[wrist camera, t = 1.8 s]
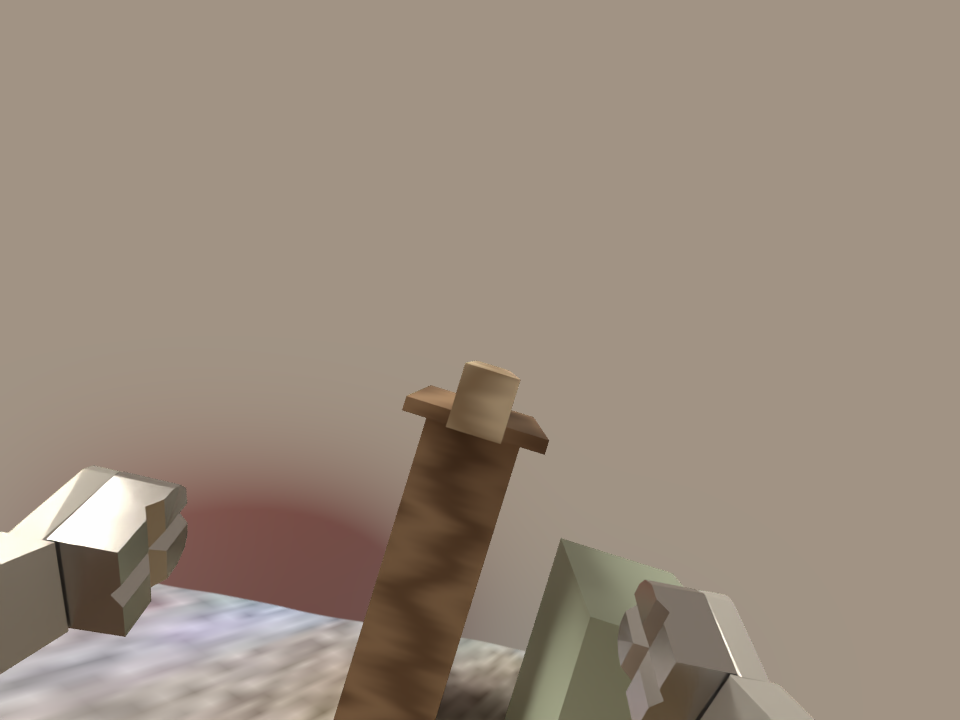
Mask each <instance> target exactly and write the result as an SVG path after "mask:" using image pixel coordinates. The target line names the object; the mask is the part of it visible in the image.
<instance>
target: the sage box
mask: <svg viewBox="0 0 960 720" xmlns="http://www.w3.org/2000/svg"><path fill="white" fill-rule="evenodd" d="M644 580H650V581H655V582H661V583H666V584H671V585H676V586H681V587H683V586H682V584H681V583H680V582H679V581H678V580H677V578H676V577H675V576H674V575H673V574H672V573H669V572H666V571H663V570H660V569H657V568H654V567H650V566H647V565H644V564H641V563H638V562H634V561H631V560H628V559H625V558H622V557H619V556H615V555H612V554H609V553H606V552H603V551H600V550H596V549H593V548H590V547H587V546H584V545H580V544H577V543H574V542H571V541H568V540H564V539H561V540H560V543H559V546H558V550H557V553H556V556H555V559H554V562H553V566H552V569H551V572H550V575H549V578H548V582H547V585H546V588H545V591H544V595H543V598H542V601H541V604H540V608H539V611H538V614H537V617H536V620H535V623H534V627H533V630H532V633H531V636H530V639H529V643H528V646H527V649H526V652H525V655H524V659H523V662H522V665H521V668H520V671H519V675H518V678H517V681H516V684H515V688H514V691H513V694H512V697H511V700H510V704H509V707H508V710H507V713H506V716H505V720H632V719H631V714H630V709H629V705H628V700H627V695H626V691H627V689H628V687H629V685H630V683H631V681H632V680H631V679H630V678H629V677H628V675H627V674H626V673H625V672H624V670H623V669H622V668H621V666H620V661H619V655H618V641H617V639H618V633H619V626H620V623H621V620H622V618H623V616H624V614H625V611H626V610H628V609H630V608H632V607H634V606H635V605H637V603H636V599H635V595H634V593H635V591H636V589H637V588H638V586H639V584H640V583H641V582H642V581H644Z"/></svg>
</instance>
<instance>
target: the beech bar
mask: <svg viewBox="0 0 960 720" xmlns="http://www.w3.org/2000/svg"><path fill="white" fill-rule="evenodd" d="M519 384H520V379H519V378H518V377H516V376H515V375H514V374H513V373H511V372H510V371H509V370H505V369H502V368H499V367H496V366H493V365H489V364H486V363H483V362H480V361H472V362H467V363H466V364H465V366H464V369H463V373H462V376H461V379H460V383H459V386H458V389H457V392H456V395H455V399H454V402H453V405H452V408H451V412H450V415H449V418H448V421H447V424H446V427H448V428H451V429H454V430H457V431H460V432H464V433H467V434H470V435H473V436H476V437H480V438H483V439H486V440H489V441H492V442H496V443H499V444H501V442H502V438H503V435H504V432H505V429H506V426H507V422H508V419H509V416H510V413H511V409H512V406H513V403H514V399H515V396H516V393H517V390H518V387H519Z"/></svg>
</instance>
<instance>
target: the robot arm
mask: <svg viewBox="0 0 960 720" xmlns="http://www.w3.org/2000/svg"><path fill="white" fill-rule="evenodd" d="M186 504H187V494H186V488H185V487H183V486H182V485H179V484H175V483H170V482H166V481H161V480H157V479H153V478H149V477H144V476H140V475H136V474H131V473H127V472H120V471H115V470H111V469H107V468H102V467H98V466H91V467H88V468H85V469H83V470H81V471H80V472H79V473H78V474H77V475H75V476H74V477H73V478H72V479H71V480H69V481H68V482H67V483H66V484H65V485H64V486H62V487H61V488H60V489H59V490H58V491H57V492H55V493H54V494H53V495H52V496H51V497H50V498H48V499H47V500H46V501H45V502H44V503H43V504H41V505H40V506H39V507H38V508H37V509H35V510H34V511H33V512H32V513H31V514H30V515H28V516H27V517H26V518H25V519H24V520H23V521H21V522H20V523H19V524H18V525H17V526H16V527H14V528H13V529H12V530H11V531H10V532H9V533H6V532H0V674H1V673H3V672H5V671H6V670H8V669H9V668H11V667H12V666H14V665H16V664H17V663H19V662H20V661H22V660H24V659H25V658H27V657H28V656H30V655H32V654H33V653H35V652H36V651H38V650H39V649H41V648H43V647H44V646H46V645H47V644H49V643H51V642H52V641H54V640H55V639H57V638H59V637H60V636H62V635H63V634H65V633H67V632H68V628H72V629H79V630H85V631H91V632H98V633H104V634H111V635H117V636H123V637H126V635H127V634H128V632H129V631H130V630H131V628H132V627H133V625H134V624H135V623H136V621H137V620H138V619H139V617H140V616H141V614H142V613H143V612H144V610H145V609H146V608H147V606H148V605H149V603H150V602H151V587H152V586H154V585H156V584H158V583H160V582H162V581H164V580H165V579H167V578H168V577H169V575H170V574H171V572H172V571H173V569H174V568H175V566H176V565H177V563H178V561H179V559H180V556H181V554H182V552H183V550H184V547H185V543H186V538H187V522H186V521H185V519H184V518H183V517H182V515H181V514H180V512H181V510H182V509H183V508H184V507H185V505H186ZM634 595H635V599H636V603H637V605H635V606H634V607H632V608H630V609H628V610H626V611H625V614H624V616H623V618H622V620H621V623H620V626H619V633H618V639H617V641H618V655H619V661H620V666H621V668H622V669H623V670H624V672H625V673H626V674H627V675H628V677H629V678H630V679H631V680H632V681H631V683H630V685H629V687H628V689H627V691H626V695H627V700H628V705H629V709H630V714H631V719H632V720H815V719H814V718H813V717H811V715H810V714H809V713H808V712H807V711H806V710H805V709H803V708H802V706H801V705H799V703H797V702H796V700H795V699H793V698H792V697H791V696H790V695H789V694H788V693H787V692H786V691H785V690H784V689H783V688H782V687H781V686H780V685H779V684H776V683H771V682H770V681H769V678H768V676H767V674H766V672H765V670H764V668H763V666H762V664H761V661H760V659H759V657H758V655H757V653H756V651H755V648H754V646H753V644H752V642H751V640H750V638H749V635H748V633H747V631H746V629H745V627H744V625H743V623H742V621H741V618H740V616H739V614H738V612H737V610H736V608H735V605H734V603H733V601H732V600H731V599H730V598H729V597H728V596H727V595H723V594H718V593H713V592H707V591H702V590H695V589H691V588H686V587H681V586H676V585H671V584H666V583H661V582H655V581H650V580H644V581H642V582H641V583H640V584H639V586H638V588H637V589H636V591H635V593H634Z"/></svg>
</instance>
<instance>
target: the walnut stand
mask: <svg viewBox="0 0 960 720" xmlns="http://www.w3.org/2000/svg"><path fill="white" fill-rule="evenodd" d="M455 395H456V393H454V392H450V391H447V390H444V389H441V388H438V387H435V386H428V387H426V388H424V389H421V390H419V391H417V392H415V393H412V394H410V395H408V396H407V397H406V400H405V403H404V406H403V409H402V410H403V411H406V412H410V413H413V414H416V415H419V416H422V417H425V418H426V421H425V424H424V428H423V431H422V434H421V438H420V441H419V444H418V447H417V450H416V454H415V457H414V460H413V464H412V467H411V470H410V473H409V476H408V480H407V483H406V486H405V489H404V493H403V496H402V499H401V503H400V506H399V509H398V512H397V515H396V519H395V522H394V525H393V528H392V532H391V535H390V538H389V542H388V545H387V548H386V551H385V555H384V558H383V561H382V564H381V567H380V571H379V574H378V577H377V580H376V584H375V587H374V590H373V593H372V597H371V600H370V603H369V606H368V610H367V613H366V616H365V620H364V623H363V626H362V629H361V632H360V636H359V639H358V642H357V645H356V649H355V652H354V655H353V658H352V662H351V665H350V668H349V671H348V675H347V678H346V681H345V684H344V688H343V691H342V694H341V697H340V701H339V704H338V707H337V710H336V714H335V717H334V720H435V719H436V715H437V712H438V709H439V706H440V703H441V699H442V696H443V693H444V690H445V686H446V683H447V680H448V677H449V673H450V670H451V667H452V664H453V661H454V657H455V654H456V651H457V648H458V644H459V641H460V638H461V635H462V631H463V628H464V625H465V622H466V618H467V615H468V612H469V609H470V606H471V603H472V599H473V596H474V592H475V589H476V586H477V583H478V580H479V577H480V573H481V570H482V567H483V564H484V560H485V557H486V554H487V551H488V547H489V544H490V541H491V538H492V535H493V531H494V528H495V525H496V522H497V518H498V515H499V512H500V509H501V506H502V503H503V499H504V496H505V493H506V490H507V486H508V483H509V480H510V477H511V473H512V470H513V467H514V463H515V461H516V457H517V454H518V451H519V448H520V447H522V448H525V449H529V450H531V451H534V452H538V453H541V454H545V452H546V449H547V446H548V442H549V440H548V438H547V437H546V435H545V434H544V432H543V431H542V429H541V428H540V426H539V425H538V423H537V422H536V420H535V419H534V418H533V417H531V416H528V415H525V414H522V413H518V412H515V411H512V410H511V413H510V416H509V419H508V422H507V426H506V429H505V432H504V435H503V438H502V442H501V444H499V443H496V442H492V441H489V440H486V439H483V438H480V437H476V436H473V435H470V434H467V433H464V432H460V431H457V430H454V429H451V428H448V427H446V424H447V421H448V418H449V415H450V412H451V408H452V405H453V402H454V399H455Z"/></svg>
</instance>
